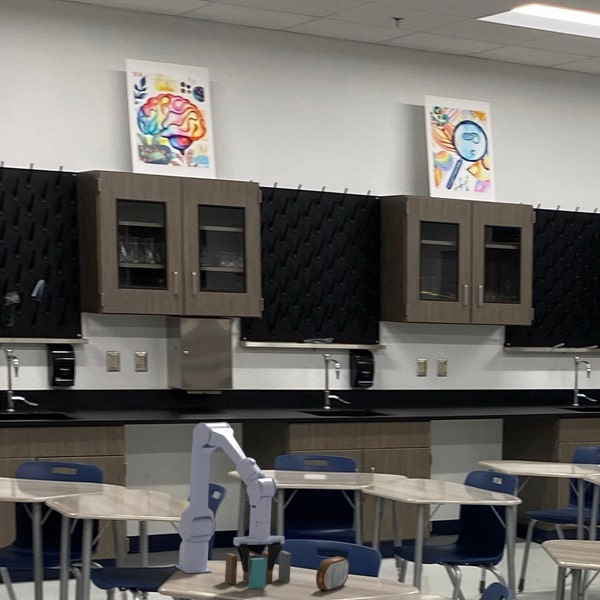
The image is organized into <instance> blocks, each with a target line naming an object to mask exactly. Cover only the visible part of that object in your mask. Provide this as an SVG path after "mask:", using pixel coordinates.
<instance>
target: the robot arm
mask: <svg viewBox="0 0 600 600" xmlns="http://www.w3.org/2000/svg"><path fill="white" fill-rule="evenodd" d="M234 432H235V431H234V430H233V428H231V426H230V424H229V423H228V422H225V421H222V422H199V423H198V424H197V425H196V426H195V427H194V428H193V429H192V444H191V446H192V447H191V457H190V458H191V460H190V461H191V462H190V479H189V480H190V481H189V482H190V484H189V501H188V502H189V505H188V506H187V507H186V508H185V509H184V510H183V511H182V512H181V514H180V515H181V516H180V521H179V523H178V527H177V528H178V533H179V536H180V538H181V540H182V541H181V543H180V545H179V560H178V564H177V565H175V567H176V568H177V569H179V570H181V571H182V572H184V573H185V574H197V573H199V574H200V573H201V574H202V573H212V572H213V570H212V569H210V568H208V560H209V559H208V557H209V556H208V555H209V554H208V553H209V541H210V540H211V538H212V536H214V533H215V530H216V522H215V520H214V518H215V517H214V515H215V514H214V512H213V511H212V510H211V509H210V508H209V489H210V488H209V487H210V485H209V484H210V467H211V466H210V462H211V454H212V453H213V452H214V451H215V450H216V449H217V448H220V449H222V450H223V451H224V452H225V453H226V454H227V456H228V457H229V458H230V459H231V460H232V461H233V463H234V464H236V467H235V471H236V473H237V475H238V476H239V477H240V478H241V480H242V481H243V483H244V484H245V486H246V493H247V496H248V503H249V505H250V512H249V529H248V530H249V533H248V535H246V536H238V537H233V545H234V546H235V548H236V551H237V553H238V555H239V556H238V557H239V558H240V559H239V560H240V563H241V564H240V565H241V569H242V572H243V571H244V572H248V559H249V553H251V548H250V547H249V546H250V545H252V546H253V545H267V546H266V547H267V552H268V570H270V571H274V568H275V564H276V562H277V558H279V557H278V556H279V553H280V551H283V545H284V544H285V536H284V535H271V517H272V514H271V513H272V498H273V497H275V495H276V493H277V484H276V481H275V479H274V478H273V477H271V476H268V475H267V474H265V473H264V471H262V469H261V468H260V467H259V466H258V464H257V462H256V460H255V459H254V458H252V457H247V456H246V455H245V452H244V451H243V449H242V448H241V446H240V445H239V443H238V442H237V440H236V439H235V437H234ZM248 545H249V546H248Z"/></svg>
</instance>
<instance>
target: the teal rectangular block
mask: <svg viewBox="0 0 600 600" xmlns="http://www.w3.org/2000/svg"><path fill="white" fill-rule="evenodd" d="M266 563H267V559H265V558H262V557H258V558H257V557H256V558H253V559H250V564H249V584H248V583H247V584H248V586H247V587H249V588H248V589H250V588H260V589H266Z"/></svg>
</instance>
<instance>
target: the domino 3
mask: <svg viewBox="0 0 600 600" xmlns="http://www.w3.org/2000/svg"><path fill="white" fill-rule="evenodd" d="M261 558H265V559H267V563H266V582H265V584H273V575H274V573H273V571H274V570H273V571H270V570H268V551H261Z"/></svg>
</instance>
